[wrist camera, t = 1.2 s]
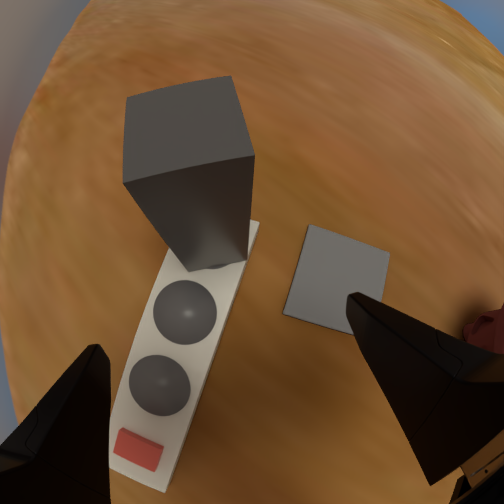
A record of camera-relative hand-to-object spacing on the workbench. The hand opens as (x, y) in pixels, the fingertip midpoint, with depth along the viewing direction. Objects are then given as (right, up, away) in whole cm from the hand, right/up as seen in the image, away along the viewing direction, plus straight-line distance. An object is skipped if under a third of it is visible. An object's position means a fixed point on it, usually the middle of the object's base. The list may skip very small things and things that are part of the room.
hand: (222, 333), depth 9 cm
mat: (+8, 0, +14) cm, 17 cm away
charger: (-2, +4, +13) cm, 13 cm away
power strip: (-5, -6, +12) cm, 14 cm away
